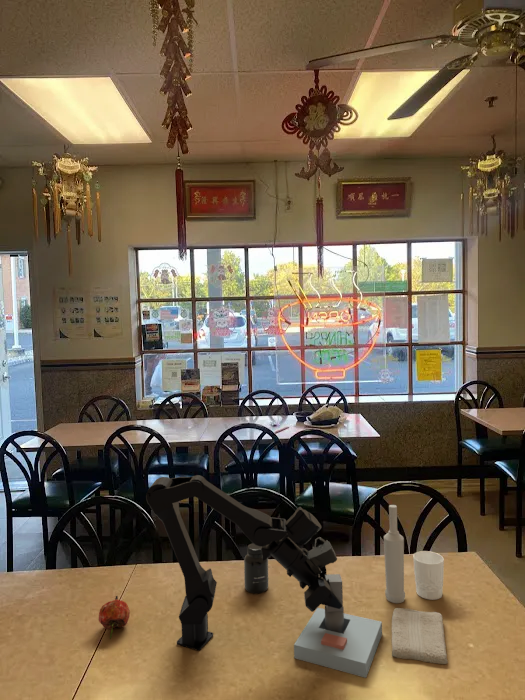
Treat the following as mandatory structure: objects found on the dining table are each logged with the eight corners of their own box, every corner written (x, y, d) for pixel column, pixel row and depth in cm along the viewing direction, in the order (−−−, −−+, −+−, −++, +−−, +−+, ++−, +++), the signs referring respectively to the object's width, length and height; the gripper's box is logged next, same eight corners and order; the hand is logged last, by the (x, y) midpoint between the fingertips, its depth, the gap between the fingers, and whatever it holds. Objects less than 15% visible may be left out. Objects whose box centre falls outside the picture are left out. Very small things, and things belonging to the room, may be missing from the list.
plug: (326, 638, 112) (325, 583, 112) (324, 627, 117) (323, 573, 116) (345, 637, 112) (344, 582, 112) (342, 626, 117) (341, 573, 116)
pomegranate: (129, 643, 118) (138, 601, 126) (118, 631, 114) (128, 588, 121) (100, 645, 119) (111, 603, 127) (88, 632, 115) (100, 590, 122)
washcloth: (442, 620, 120) (441, 608, 120) (449, 668, 103) (449, 654, 103) (392, 615, 123) (392, 603, 123) (391, 660, 106) (391, 646, 106)
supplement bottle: (258, 596, 133) (257, 553, 133) (239, 589, 137) (238, 547, 137) (273, 586, 139) (272, 544, 138) (254, 579, 143) (253, 539, 142)
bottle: (406, 604, 127) (403, 509, 126) (385, 602, 128) (383, 509, 128) (404, 594, 132) (402, 503, 132) (384, 592, 133) (382, 502, 133)
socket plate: (366, 677, 100) (365, 659, 100) (294, 658, 107) (293, 641, 107) (382, 634, 115) (381, 618, 115) (317, 619, 122) (317, 604, 122)
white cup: (449, 601, 128) (448, 563, 128) (419, 601, 128) (418, 564, 128) (438, 585, 136) (438, 550, 136) (410, 586, 136) (409, 551, 136)
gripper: (319, 550, 105) (372, 599, 105) (311, 518, 123) (356, 560, 124) (284, 587, 105) (336, 636, 105) (281, 549, 124) (325, 591, 124)
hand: (339, 602), depth 114 cm, fingers closed on plug, 3 cm apart
